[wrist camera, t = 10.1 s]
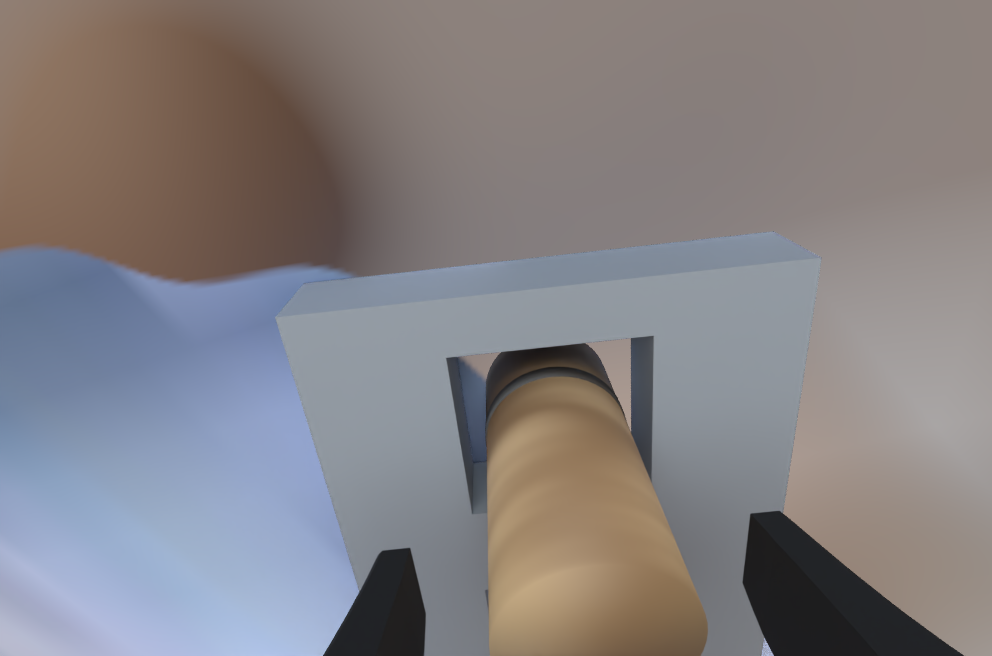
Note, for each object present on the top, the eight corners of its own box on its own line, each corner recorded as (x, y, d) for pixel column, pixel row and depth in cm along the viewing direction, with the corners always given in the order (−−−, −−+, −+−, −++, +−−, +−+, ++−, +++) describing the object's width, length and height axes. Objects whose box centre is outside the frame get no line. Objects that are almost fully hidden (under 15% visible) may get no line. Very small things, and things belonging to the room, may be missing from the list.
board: (409, 666, 24) (401, 727, 22) (303, 283, 16) (275, 317, 14) (729, 636, 24) (755, 696, 21) (773, 231, 16) (821, 257, 14)
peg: (493, 443, 19) (501, 720, 11) (476, 340, 17) (472, 578, 9) (609, 429, 19) (705, 699, 11) (604, 324, 17) (714, 551, 9)
